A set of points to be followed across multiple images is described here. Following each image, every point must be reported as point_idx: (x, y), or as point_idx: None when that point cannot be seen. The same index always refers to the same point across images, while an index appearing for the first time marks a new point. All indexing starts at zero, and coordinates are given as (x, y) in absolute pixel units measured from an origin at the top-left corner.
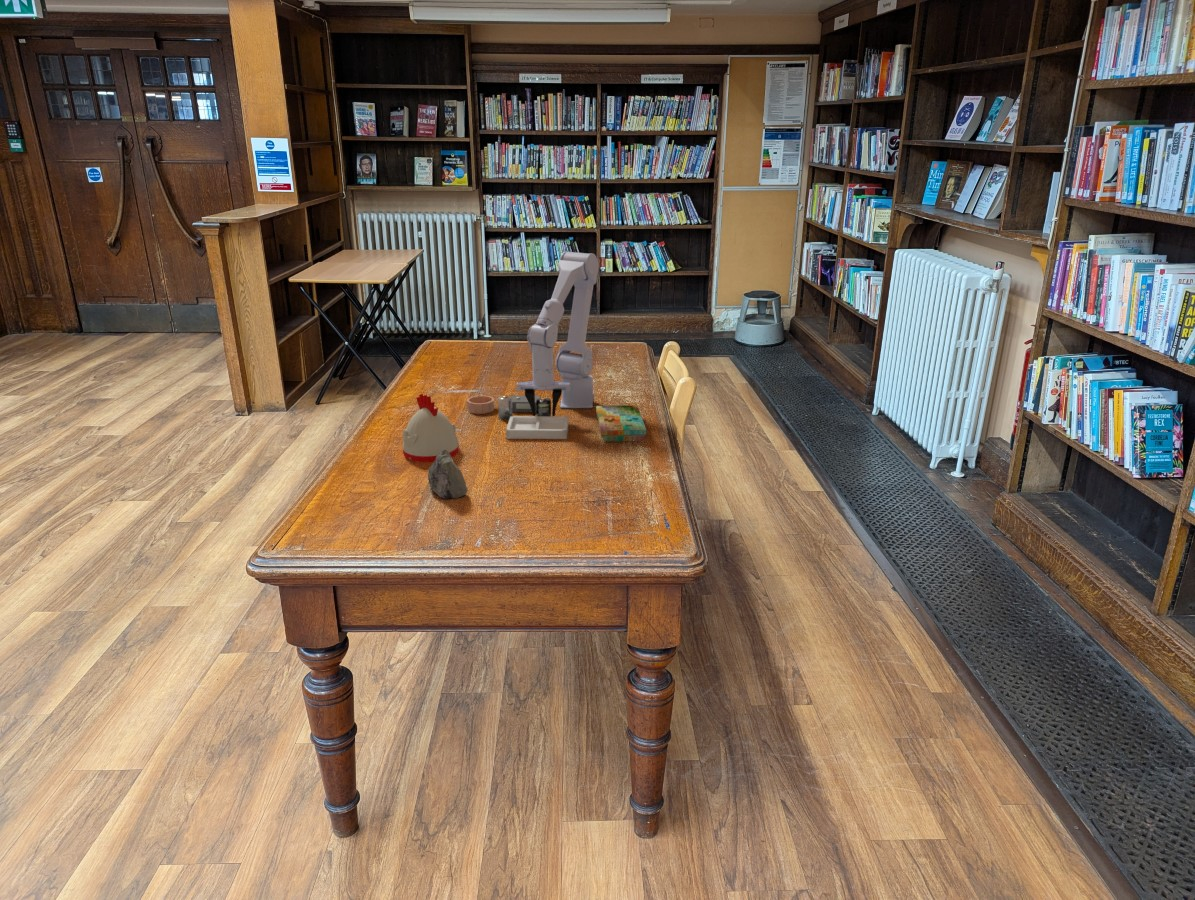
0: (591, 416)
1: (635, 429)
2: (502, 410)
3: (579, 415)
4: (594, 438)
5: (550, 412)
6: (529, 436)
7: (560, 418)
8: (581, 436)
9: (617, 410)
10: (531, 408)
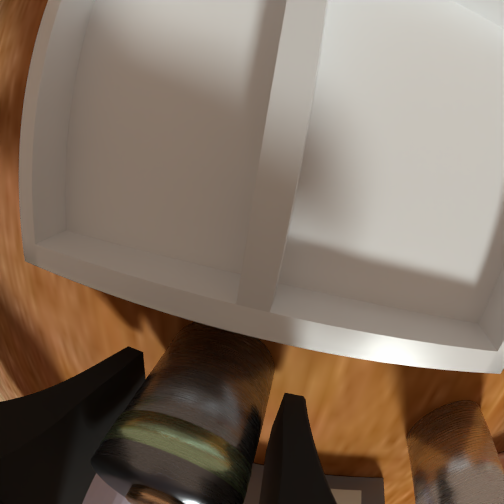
0: (16, 327)
1: None
2: (492, 447)
3: (54, 358)
4: (5, 29)
5: (144, 381)
6: None
7: (67, 250)
8: (33, 37)
9: None
10: (313, 449)
